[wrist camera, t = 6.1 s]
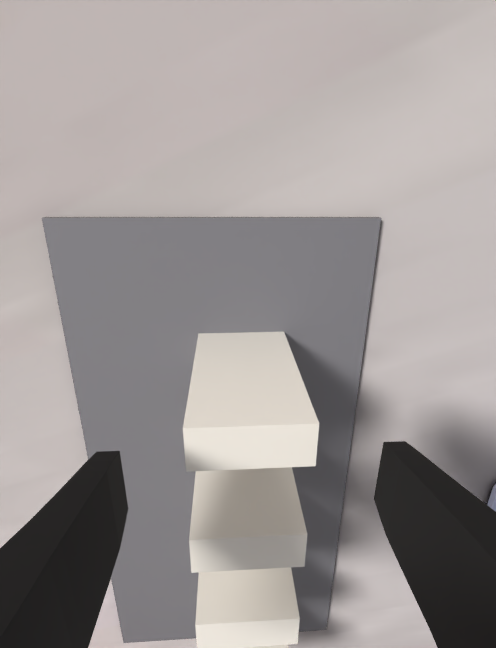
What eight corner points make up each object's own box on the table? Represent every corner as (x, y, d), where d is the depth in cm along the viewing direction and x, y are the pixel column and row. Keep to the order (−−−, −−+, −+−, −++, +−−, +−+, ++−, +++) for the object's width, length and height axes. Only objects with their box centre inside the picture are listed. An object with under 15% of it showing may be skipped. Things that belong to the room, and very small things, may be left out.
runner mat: (378, 217, 16) (380, 218, 16) (325, 625, 26) (326, 629, 26) (45, 217, 15) (41, 217, 15) (124, 637, 26) (123, 642, 25)
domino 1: (283, 331, 17) (319, 423, 11) (282, 361, 18) (315, 466, 12) (198, 333, 17) (183, 428, 11) (200, 364, 18) (186, 471, 11)
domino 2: (279, 412, 19) (307, 534, 13) (278, 438, 20) (304, 566, 13) (201, 415, 19) (189, 540, 12) (202, 440, 19) (191, 572, 13)
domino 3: (276, 480, 21) (299, 618, 14) (275, 502, 21) (297, 644, 15) (204, 483, 21) (195, 625, 14) (205, 505, 21) (197, 650, 15)
